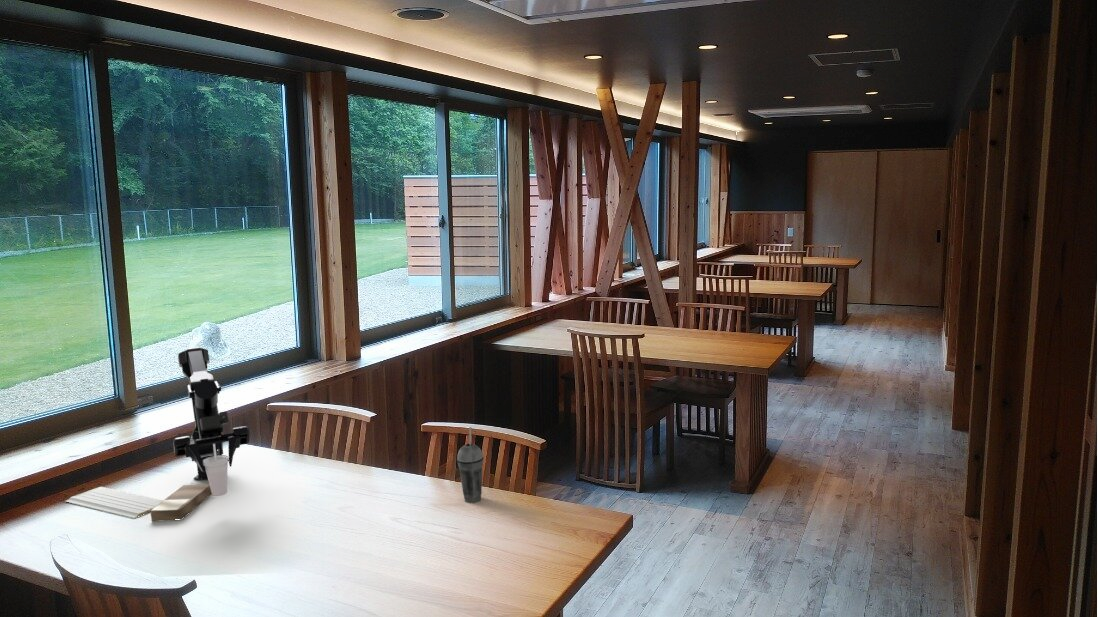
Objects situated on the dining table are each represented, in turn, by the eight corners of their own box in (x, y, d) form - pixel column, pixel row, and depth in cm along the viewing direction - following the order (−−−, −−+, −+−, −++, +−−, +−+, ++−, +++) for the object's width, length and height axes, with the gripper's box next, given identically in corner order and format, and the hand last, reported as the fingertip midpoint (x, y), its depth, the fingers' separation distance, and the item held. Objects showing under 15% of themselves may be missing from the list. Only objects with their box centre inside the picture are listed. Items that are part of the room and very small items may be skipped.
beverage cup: (454, 503, 209) (449, 431, 206) (467, 493, 215) (462, 423, 212) (478, 506, 206) (474, 433, 203) (490, 495, 213) (486, 425, 210)
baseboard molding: (129, 523, 207) (169, 506, 218) (127, 512, 207) (168, 496, 218) (60, 506, 222) (101, 491, 232) (59, 496, 221) (99, 482, 232)
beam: (184, 494, 224) (183, 484, 224) (212, 494, 224) (210, 483, 224) (150, 521, 206) (149, 510, 205) (180, 520, 206) (178, 509, 205)
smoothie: (207, 500, 204) (201, 449, 202) (205, 492, 210) (200, 442, 207) (233, 494, 207) (227, 444, 204) (231, 487, 212) (225, 437, 210)
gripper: (169, 409, 203) (177, 461, 195) (244, 397, 212) (255, 446, 204) (171, 430, 211) (178, 481, 204) (243, 418, 220) (253, 466, 212)
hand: (217, 468), depth 206 cm, fingers closed on smoothie, 6 cm apart
